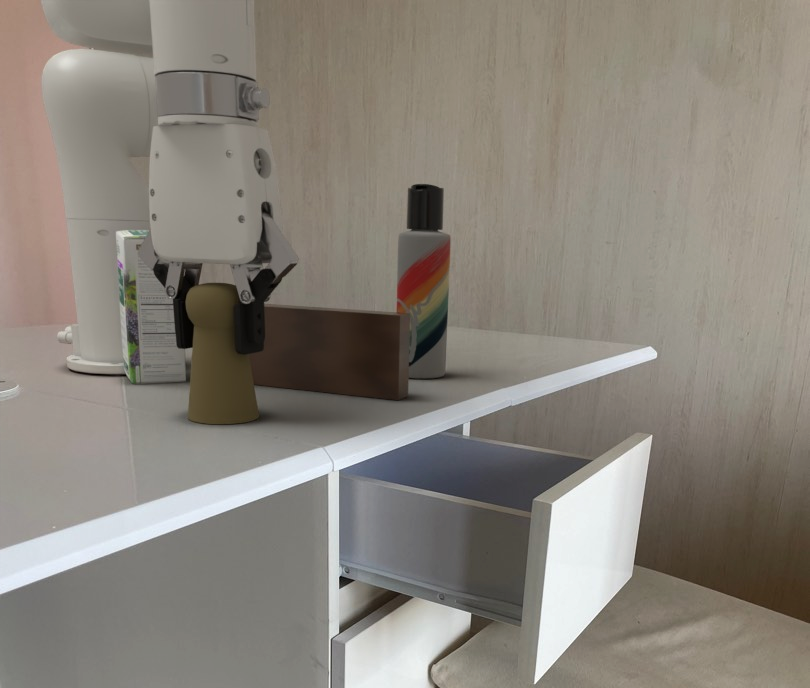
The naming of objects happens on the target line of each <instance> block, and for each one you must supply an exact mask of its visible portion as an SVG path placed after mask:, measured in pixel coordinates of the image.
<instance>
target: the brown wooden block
mask: <svg viewBox="0 0 810 688" xmlns="http://www.w3.org/2000/svg"><path fill="white" fill-rule="evenodd" d="M264 313H265V340H264V349H263V351H261V352H256V353H251V354H249V359H250V365H251V371H252V377H253V383H254V386H264V387H271V388H272V387H273V388H281V389H291V390H299V391H310V392H319V393H327V394H338V395H344V396H345V395H346V396H353V397H354V396H355V397H363V398H373V399H381V400H390V401H391V400H392V401H400V400H403V399H405V398H408V397H409V378H408V377H409V338H410V313H398V312H397V311H396V312H395V311H380V310H368V309H367V310H365V309H351V308H338V307H337V308H335V307H321V306H306V305H292V304H277V303H264Z"/></svg>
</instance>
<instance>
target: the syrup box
mask: <svg viewBox="0 0 810 688" xmlns="http://www.w3.org/2000/svg"><path fill="white" fill-rule="evenodd" d="M148 232H149V230H124V231H116V244H117V260H118V280H119V300H120V318H121V334H122V348H123V362H124V370H125V373H126V374H125V375H126V377H127V378H128V380H129V381H130V383H131V384H132V385H142V384H145V385H146V384H162V383H163V384H164V383H177V382H179V383H180V382H182V383H183V382H186V381H187V367H186V365H187V364H186V362H187V361H186V349H179V348H178V347H177V345H176V333H175V324H174V309H173V299H169V298H168V297H167V296H166V294H165V288H164V286H163V285H162V284H161V283H160V281H159V280H158V279H157V278H156V276H155V275H154V271H153V270H151V269H150V268H149V267H148V266H147V265H146V264H145V263H144V262H143V261H142V260H141V259H140V257H139V255H138V250H139V248H140V246H141V244H142V243H143V241H144V239H145V237H146V236H147V234H148ZM169 262H170V261H169Z"/></svg>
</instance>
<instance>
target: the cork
mask: <svg viewBox="0 0 810 688" xmlns="http://www.w3.org/2000/svg"><path fill="white" fill-rule="evenodd" d="M236 303H240V298H239V295H238V291H237V288H236V285H235V284H233V283H227V282H205V283H199V285H196V286H193V287H192V288H190V289H189V291H188V293H187V296H186V310H187V314H188V317H189V319H190V320H191V321H192V323H193V324H194V333H193V348H191V362H190V363H191V364H190V377H189V378H190V379H189V391H188V393H189V394H188V407H187V408H188V409H187V419H188V420H190V421H191V422H195V423H199V424H205V425H235V424H243V423H244V424H245V423H249V422H253V421H255V420H257V419H259V418H260V413H259V408H258V402H257V396H256V389H255V385H254V383H253V377H252V371H251V365H250V359H249V354H246V355H242V354H238V353H237V352H236V349H235V329H234V306H235V304H236Z"/></svg>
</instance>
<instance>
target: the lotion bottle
mask: <svg viewBox="0 0 810 688" xmlns="http://www.w3.org/2000/svg"><path fill="white" fill-rule="evenodd" d="M444 192H445V189H444V187H439V186H438V185H434V184H430V183H429V184H428V183H416V184H412V185H411V187H407V203H406V204H407V205H406V229H407V230H408V231H403V232H400V233H399V234H398V236H397V237H398V238H397V272H396V275H397V276H396V312H398V313H410V338H409V377H408V379H426V380H428V379H437V378H438V379H439V378H443V377H444V376H445V374H446V364H447V345H448V344H447V342H448V339H447V338H448V319H449V318H448V317H449V316H448V314H449V294H450V293H449V292H450V271H451V269H450V268H451V266H450V265H451V244H452V243H451V241H452V240H451V235H450V234H448V233H446V232H444V231H443V230H444V203H445V202H444V201H445V198H444V197H445V193H444ZM442 231H443V232H442Z"/></svg>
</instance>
